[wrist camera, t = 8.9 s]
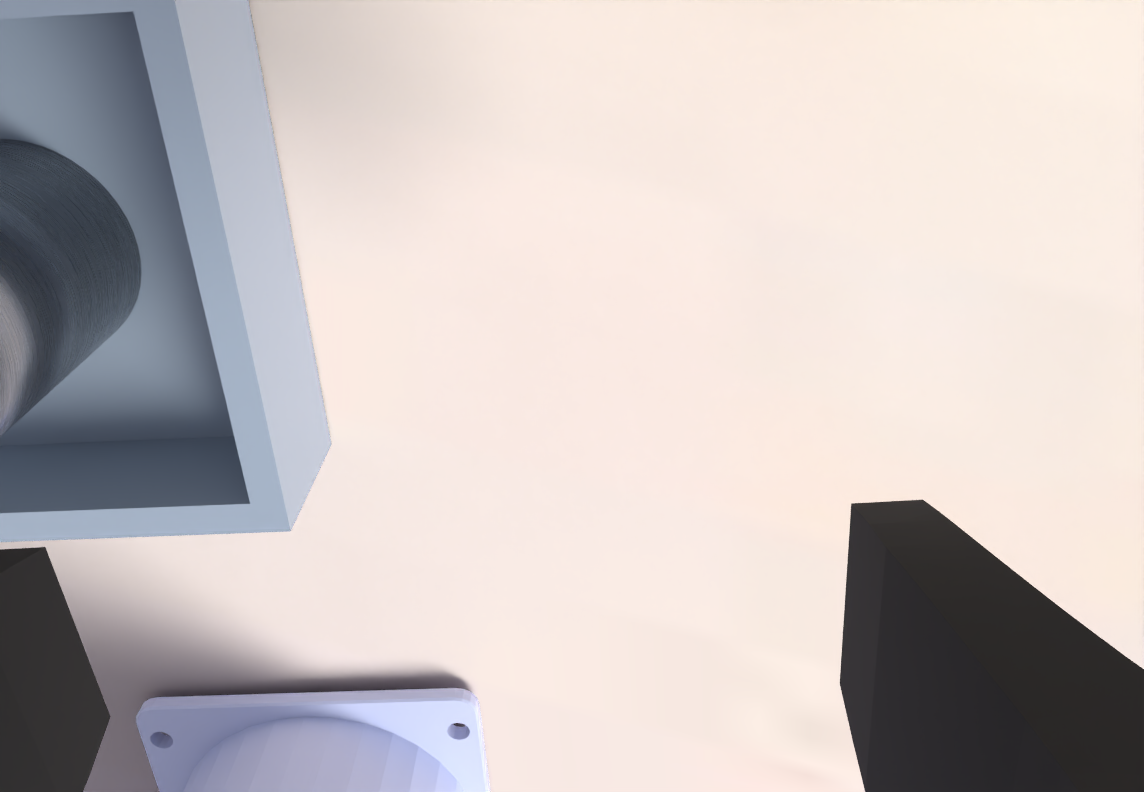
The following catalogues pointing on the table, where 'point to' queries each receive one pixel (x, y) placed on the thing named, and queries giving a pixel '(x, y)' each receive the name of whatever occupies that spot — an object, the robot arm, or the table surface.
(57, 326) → the cylinder with rectangular bar
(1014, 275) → the table surface
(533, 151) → the table surface
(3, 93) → the bin
